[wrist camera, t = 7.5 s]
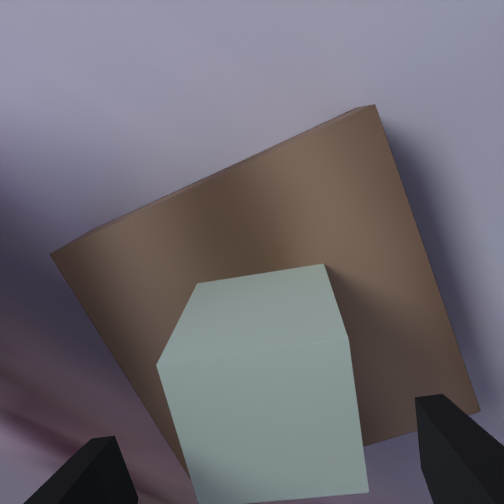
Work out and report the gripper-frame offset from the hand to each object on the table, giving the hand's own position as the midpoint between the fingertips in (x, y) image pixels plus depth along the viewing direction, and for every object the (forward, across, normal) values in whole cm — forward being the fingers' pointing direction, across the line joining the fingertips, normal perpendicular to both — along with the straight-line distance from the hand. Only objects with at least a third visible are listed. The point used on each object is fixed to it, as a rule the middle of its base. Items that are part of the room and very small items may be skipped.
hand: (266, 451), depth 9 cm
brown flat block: (+8, 0, 0) cm, 8 cm away
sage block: (+5, 0, 0) cm, 5 cm away
